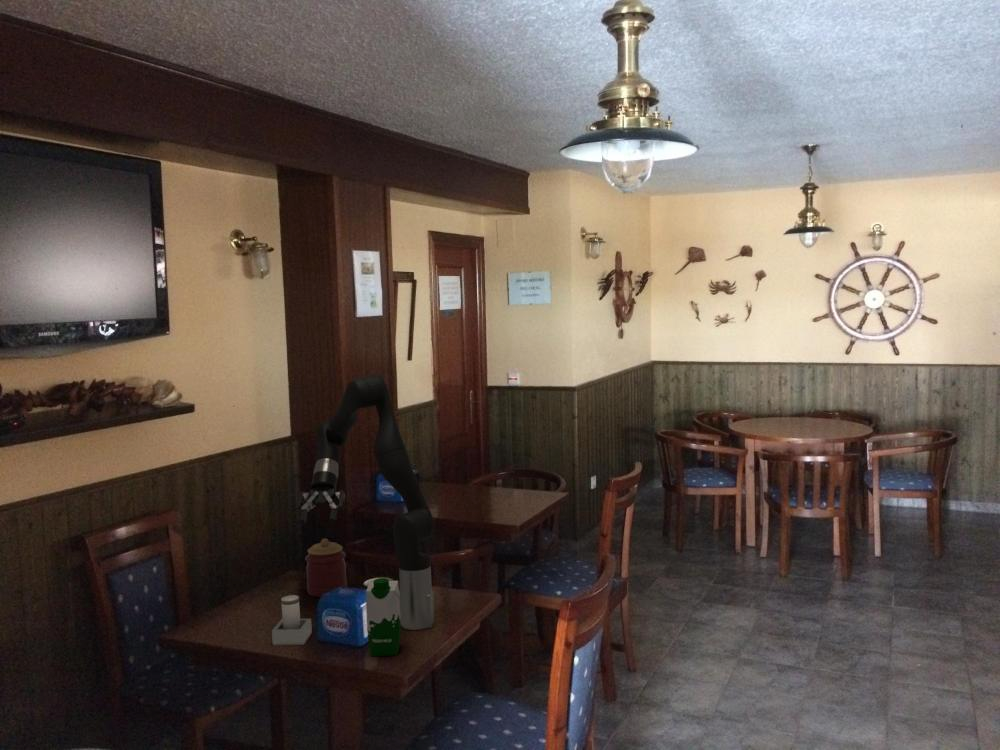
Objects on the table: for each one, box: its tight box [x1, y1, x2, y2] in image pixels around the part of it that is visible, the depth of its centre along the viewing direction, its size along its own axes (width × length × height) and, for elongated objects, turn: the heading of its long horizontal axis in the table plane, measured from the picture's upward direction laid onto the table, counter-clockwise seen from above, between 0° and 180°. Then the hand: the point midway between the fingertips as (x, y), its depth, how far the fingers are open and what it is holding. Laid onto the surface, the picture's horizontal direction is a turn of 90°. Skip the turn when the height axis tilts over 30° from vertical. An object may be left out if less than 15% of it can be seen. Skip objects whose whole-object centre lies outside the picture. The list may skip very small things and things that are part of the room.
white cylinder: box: [280, 594, 301, 629], centre depth 233 cm, size 5×5×11 cm
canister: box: [304, 538, 348, 598], centre depth 272 cm, size 13×13×18 cm
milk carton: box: [365, 577, 402, 657], centre depth 222 cm, size 9×9×20 cm
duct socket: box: [271, 618, 313, 646], centre depth 233 cm, size 9×9×4 cm
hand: (317, 522), depth 248 cm, fingers open, 8 cm apart
